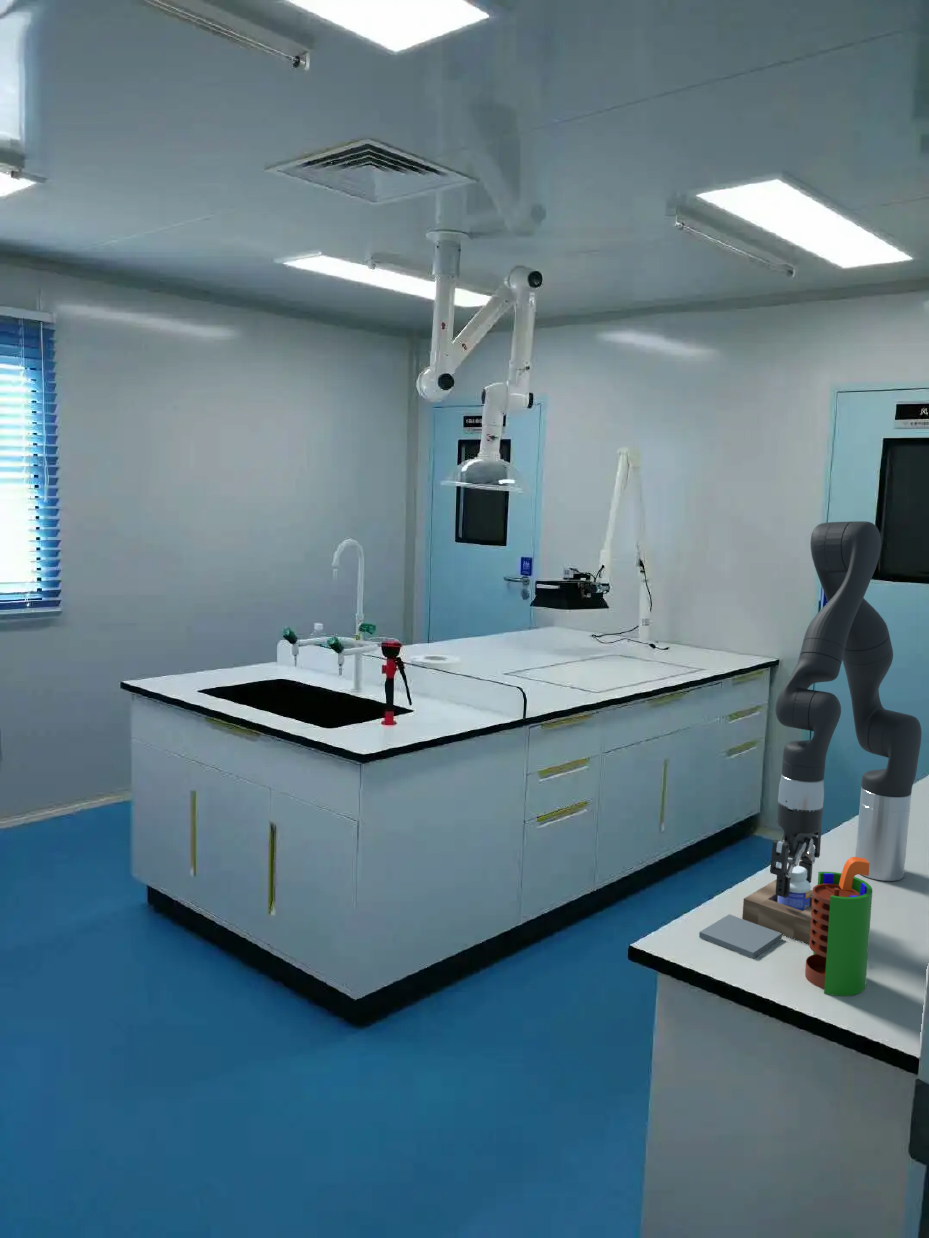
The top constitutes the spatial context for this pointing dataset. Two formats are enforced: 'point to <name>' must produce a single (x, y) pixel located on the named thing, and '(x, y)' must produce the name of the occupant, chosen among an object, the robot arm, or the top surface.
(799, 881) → the pill bottle
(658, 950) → the top surface
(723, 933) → the mat
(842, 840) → the top surface
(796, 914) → the socket block
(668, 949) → the top surface
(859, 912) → the green brown cylinder
